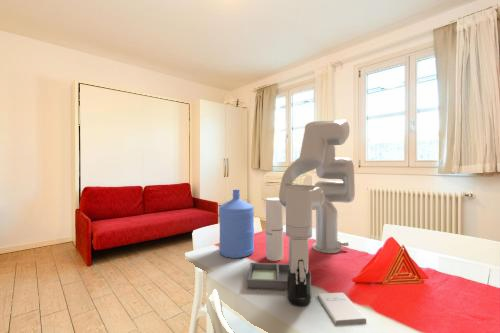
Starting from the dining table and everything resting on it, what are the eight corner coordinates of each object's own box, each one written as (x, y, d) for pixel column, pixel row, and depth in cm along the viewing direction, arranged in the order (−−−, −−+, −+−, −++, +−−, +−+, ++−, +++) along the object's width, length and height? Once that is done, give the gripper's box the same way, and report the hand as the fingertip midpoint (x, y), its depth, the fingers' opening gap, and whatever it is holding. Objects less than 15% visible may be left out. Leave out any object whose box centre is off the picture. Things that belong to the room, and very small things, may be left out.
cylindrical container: (282, 261, 100) (282, 200, 99) (265, 260, 101) (264, 200, 101) (283, 254, 107) (283, 197, 106) (267, 253, 108) (267, 197, 108)
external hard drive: (335, 326, 62) (317, 298, 74) (366, 324, 63) (343, 297, 75) (335, 320, 62) (317, 293, 74) (366, 318, 63) (343, 291, 75)
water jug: (261, 253, 109) (260, 190, 108) (230, 262, 100) (229, 193, 99) (242, 243, 122) (241, 187, 121) (213, 250, 113) (212, 189, 112)
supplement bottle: (315, 299, 73) (315, 260, 72) (302, 310, 68) (302, 267, 67) (295, 291, 78) (295, 253, 77) (282, 300, 73) (282, 260, 72)
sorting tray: (304, 272, 90) (304, 264, 90) (310, 291, 77) (310, 282, 77) (250, 270, 92) (250, 262, 92) (247, 288, 79) (247, 279, 79)
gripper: (284, 222, 81) (284, 274, 82) (287, 239, 64) (287, 306, 64) (307, 222, 80) (307, 275, 81) (317, 240, 63) (317, 307, 64)
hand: (299, 288), depth 73 cm, fingers open, 8 cm apart
